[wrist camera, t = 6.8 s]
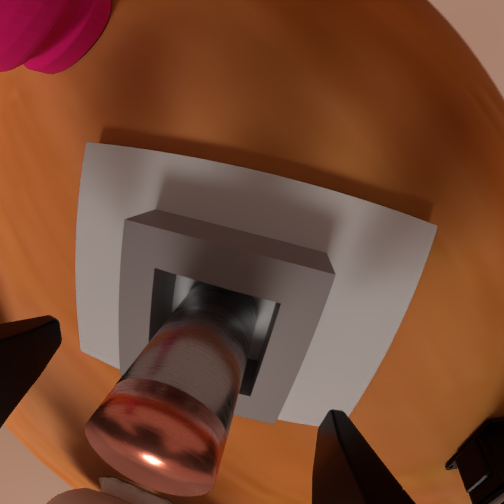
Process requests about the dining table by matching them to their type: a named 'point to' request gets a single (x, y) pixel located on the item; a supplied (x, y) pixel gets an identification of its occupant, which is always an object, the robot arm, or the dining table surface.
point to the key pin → (179, 395)
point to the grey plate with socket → (245, 271)
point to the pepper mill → (49, 32)
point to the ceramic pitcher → (108, 494)
